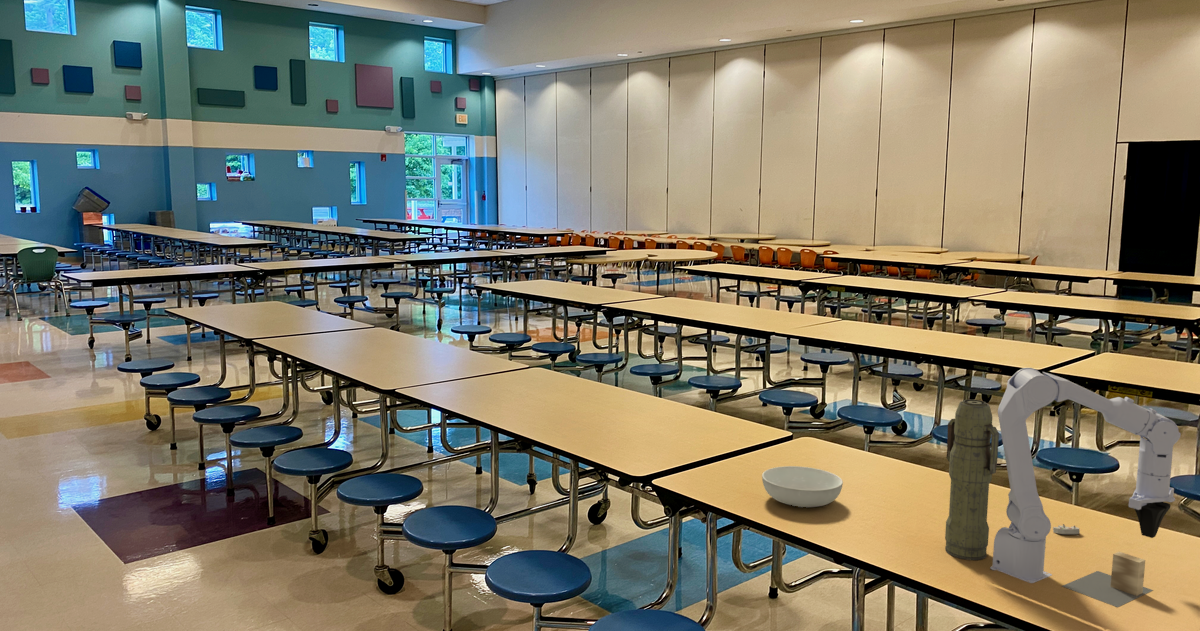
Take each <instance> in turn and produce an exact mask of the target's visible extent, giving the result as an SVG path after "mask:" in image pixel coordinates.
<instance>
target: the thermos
mask: <svg viewBox="0 0 1200 631" xmlns="http://www.w3.org/2000/svg"><path fill="white" fill-rule="evenodd" d="M954 414H955V415H954V418H951V419H950V420H949V422H948V423H947V438H946V440H947V441H946V442H947V445H946V457H945V458H946V460H947V461H948V462H949V464H948V465H949V469H948V475H949V478H950V490H949V508H948V517H947V519H946V521H945V529H944V530H945V531H944V532H945V534H944V540H945V548H944V549H945V552H946V553H947V554H948V555H950V556H952V557H955V558H957V559H961V560H966V561H968V560H969V561H981V560H985V559H986V558H987V551H988V550H987V549H988V548H987V547H988V546H989V534H990V526H989V524H988V510H989V509H988V506H989V493H990V492H989V491H990V490H989V489H990V487H989V486H990V483H991V481H992V479H993V474H996V472H997V468H998V467H997V465H998V455H999V454H998V453H999V440H1000V439H999V438H1000V433H999V430H998V429H997V427H996V426H994V425H993V414H992V410H991V406H990V404H989V403H987V402H986V401H983V400H978V399H964V400H962V401H959V403H958V405H957V407H956V411H955V413H954Z"/></svg>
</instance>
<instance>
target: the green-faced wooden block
mask: <svg viewBox="0 0 1200 631" xmlns="http://www.w3.org/2000/svg"><path fill="white" fill-rule="evenodd" d="M1111 565H1112V566H1111V574H1110V575H1111V587H1113V588H1116V589H1118V590H1121V591H1124V592H1127V593H1130V594H1132V595H1135V596H1138V595H1140V594H1142V593H1143V587H1144V580H1145V567H1146V559H1145V558H1140V557H1137V556H1134V555H1131V554H1128V553H1124V552H1123V551H1122V552H1121V551H1117V552H1115V553H1113V554H1112V564H1111Z"/></svg>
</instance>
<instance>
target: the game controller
mask: <svg viewBox="0 0 1200 631" xmlns="http://www.w3.org/2000/svg"><path fill="white" fill-rule="evenodd" d="M1052 530H1053V533H1054V534H1059V535H1074V536H1075V535H1079V534H1081V533H1080V528H1079V527H1077V526H1076V525H1073V526H1070V527H1069V526H1066V525H1065V524H1064V523H1062V525H1058V526H1053V528H1052Z"/></svg>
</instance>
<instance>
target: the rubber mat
mask: <svg viewBox="0 0 1200 631" xmlns="http://www.w3.org/2000/svg"><path fill="white" fill-rule="evenodd" d="M1062 587H1063V588H1066V589H1069V590H1070V591H1073V592H1076V593H1078V594H1081V595H1084V596H1086V597H1089V598H1091V599H1094V600H1097V601H1100V602H1102V603H1104V604H1107V605H1109V606H1113V607H1115V608H1119V607H1122V606H1124V605H1126V604H1128V603H1130V602H1133V601H1134V600H1136V599H1138V598H1140V597H1142V596H1143V597H1144V595H1146V594H1149V593H1151V592H1153V591H1154V590H1153V589H1151V588H1148V587H1145V586H1143V593H1142V594H1140V595H1138V596H1135V595H1132V594H1130V593H1127V592H1124V591H1121V590H1118V589H1116V588H1113V587H1111V574H1109V573H1105V572H1102V571H1100V570H1096V571H1094V572H1091V573H1090V574H1089V573H1088V574H1087V575H1084V576H1082V577H1079V578H1077V579H1074V580H1073V581H1070V582H1068V583H1065V584H1063V585H1061V588H1062Z"/></svg>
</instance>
